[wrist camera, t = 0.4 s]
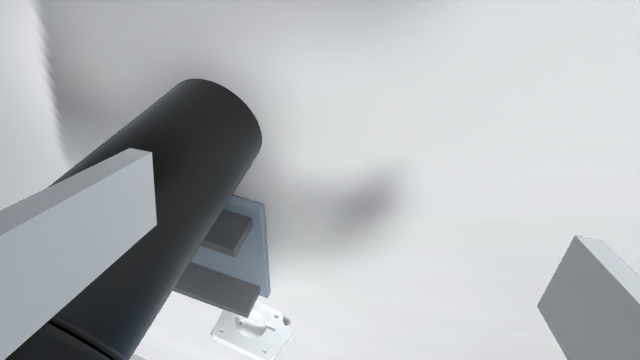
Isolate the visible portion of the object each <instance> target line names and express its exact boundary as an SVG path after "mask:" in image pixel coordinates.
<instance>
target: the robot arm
mask: <svg viewBox="0 0 640 360" xmlns="http://www.w3.org/2000/svg"><path fill="white" fill-rule="evenodd" d="M156 225H157V219H156V204H155V190H154V175H153V160H152V152H148V151H143V150H138V149H132V148H129V149H127V150H125V151H123V152H120V153H118V154H116V155H114V156H112V157H110V158H108V159H106V160H104V161H102V162H100V163H98V164H96V165H94V166H92V167H90V168H87V169H85V170H83V171H81V172H79V173H77V174H75V175H73V176H71V177H69V178H67V179H65V180H63V181H61V182H59V183H57V184H54V185H52V186H50V187H48V188H46V189H44V190H42V191H40V192H38V193H36V194H34V195H32V196H30V197H28V198H26V199H23V200H21V201H19V202H18V203H15V204H13V205H11V206H9V207H7V208H5V209H3V210H1V211H0V360H5V359H6V358H7V357H8V356H9V355H10V354H11V353H13V352H14V351H15V350H16V349H17V348H18V347H19V346H20V345H22V344H23V343H24V342H25V341H26V340H27V339H28V338H29V337H31V336H32V335H33V334H34V333H35V332H36V331H37V330H38V329H40V328H41V327H42V326H43V325H44V324H45V323H46V322H48V321H49V320H50V319H51V318H52V317H53V316H54V315H55V314H57V313H58V312H59V311H60V310H61V309H62V308H63V307H64V306H66V305H67V304H68V303H69V302H70V301H71V300H72V299H73V298H75V297H76V296H77V295H78V294H79V293H80V292H81V291H82V290H84V289H85V288H86V287H87V286H88V285H89V284H90V283H91V282H93V281H94V280H95V279H96V278H97V277H98V276H99V275H100V274H102V273H103V272H104V271H105V270H106V269H107V268H108V267H110V266H111V265H112V264H113V263H114V262H115V261H116V260H117V259H119V258H120V257H121V256H122V255H123V254H124V253H125V252H126V251H128V250H129V249H130V248H131V247H132V246H133V245H134V244H135V243H137V242H138V241H139V240H140V239H141V238H142V237H143V236H144V235H146V234H147V233H148V232H149V231H150V230H151V229H152V228H153V227H155V226H156ZM537 307H538V308H539V310H540V312H541V314H542V315H543V317H544V319H545V321H546V322H547V324H548V326H549V328H550V330H551V331H552V333H553V335H554V337H555V338H556V340H557V342H558V344H559V345H560V347H561V349H562V351H563V353H564V354H565V356H566V358H567V360H640V276H639V275H638V274H637V273H636V272H635V271H634V270H633V269H632V268H631V267H630V266H629V265H628V264H627V263H626V262H624V261H623V260H622V259H621V258H620V257H619V256H618V255H617V254H616V253H615V252H614V251H613V250H612V249H611V248H610V247H609V246H608V245H607V244H606V243H605V242H604V241H602V240H597V239H592V238H587V237H582V236H576V235H575V236H574V238H573V240H572V242H571V244H570V246H569V248H568V249H567V251H566V253H565V255H564V257H563V259H562V261H561V262H560V264H559V266H558V268H557V270H556V272H555V274H554V275H553V277H552V279H551V281H550V283H549V285H548V287H547V289H546V290H545V292H544V294H543V296H542V298H541V300H540V302H539V303H538V305H537Z"/></svg>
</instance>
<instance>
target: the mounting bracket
mask: <svg viewBox="0 0 640 360" xmlns="http://www.w3.org/2000/svg"><path fill="white" fill-rule="evenodd" d="M220 332H221V333H220ZM211 336H212V339H213V340H215V341H217V342H219V343H221V344H223V345H225V346H227V347H229V348H232V349H234V350H236V351H238V352H240V353H242V354H244V355H246V356H248V357H250V358H253V359H255V360H275V359H276V357H277V356H278V355H279V354H280V353H281V352H282V351H283V349H284V348H285V347H286V346H287V345H288V344H289V343H290V341H291V340H292V338H293V333H292V330H291V328H290V327H287V326H285V324H284V323H283V314H282V313H281V312H279V311H276V310H274V309H272V308H270V307H268V306H266V305H264V304H262V303H260V302H258V301H256V302H255V304H254V306H253V308H252V310H251V312H250V314H249V317H248V318H245V317H243V316H240V315H237V314H235V313H232V312H229V311H226V310H223V312H222V314H221V315H220V317H219V319H218V321H217V323H216V325H215V326H214V328H213V330H212V332H211ZM262 351H263V352H264V353H265V354H264V353H262Z"/></svg>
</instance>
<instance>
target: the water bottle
mask: <svg viewBox="0 0 640 360" xmlns="http://www.w3.org/2000/svg"><path fill="white" fill-rule="evenodd" d="M261 144H262V135H261V130H260V127H259V124H258V122H257V120H256V118H255V116H254V115H253V113H252V112H251V110H250V109H249V108H248V106H247V105H246V104H245V103H244V102H243V101H242V100H241V99H240V98H239V97H238V96H236V95H235V94H234V93H232V92H231V91H229V90H228V89H226V88H225V87H223V86H221V85H219V84H216V83H214V82H211V81H207V80H202V79H189V80H185V81H183V82H181V83H179V84H178V85H177V86H175V87H174V88H173V89H172V90H170V91H169V92H168V93H167V94H165V95H164V96H163V97H161V98H160V99H159V100H158V101H156V102H155V103H154V104H153V105H151V106H150V107H149V108H148V109H146V110H145V111H144V112H143V113H141V114H140V115H139V116H137V117H136V118H135V119H134V120H132V121H131V122H130V123H129V124H127V125H126V126H125V127H124V128H122V129H121V130H120V131H118V132H117V133H116V134H115V135H113V136H112V137H111V138H110V139H108V140H107V141H106V142H105V143H103V144H102V145H101V146H100V147H98V148H97V149H96V150H94V151H93V152H92V153H91V154H89V155H88V156H87V157H86V158H84V159H83V160H82V161H81V162H79V163H78V164H77V165H75V166H74V167H73V168H72V169H70V170H69V171H68V172H67V173H65V174H64V175H63V176H62V177H60V178H59V179H58V180H57V181H55V182H54V183H53V184H52V185H54V184H57V183H59V182H61V181H63V180H65V179H67V178H69V177H71V176H73V175H75V174H77V173H79V172H81V171H83V170H85V169H87V168H90V167H92V166H94V165H96V164H98V163H100V162H102V161H104V160H106V159H108V158H110V157H112V156H114V155H116V154H118V153H120V152H123V151H125V150H127V149H129V148H132V149H138V150H143V151H148V152H152V160H153V175H154V190H155V204H156V219H157V225H156V226H155V227H153V228H152V229H151V230H150V231H149V232H148V233H147V234H146V235H144V236H143V237H142V238H141V239H140V240H139V241H138V242H137V243H135V244H134V245H133V246H132V247H131V248H130V249H129V250H128V251H126V252H125V253H124V254H123V255H122V256H121V257H120V258H119V259H117V260H116V261H115V262H114V263H113V264H112V265H111V266H110V267H108V268H107V269H106V270H105V271H104V272H103V273H102V274H100V275H99V276H98V277H97V278H96V279H95V280H94V281H93V282H91V283H90V284H89V285H88V286H87V287H86V288H85V289H84V290H82V291H81V292H80V293H79V294H78V295H77V296H76V297H75V298H73V299H72V300H71V301H70V302H69V303H68V304H67V305H66V306H64V307H63V308H62V309H61V310H60V311H59V312H58V313H57V314H55V315H54V316H53V317H52V318H51V319H50V320H49V321H48V322H46V323H45V324H44V325H43V326H42V327H41V328H40V329H38V330H37V331H36V332H35V333H34V334H33V335H32V336H31V337H29V338H28V339H27V340H26V341H25V342H24V343H23V344H22V345H20V346H19V347H18V348H17V349H16V350H15V351H14V352H13V353H11V354H10V355H9V356H8V357H7V358H6V359H5V360H129V359H130V357H131V356H132V354H133V353H134V351H135V350H136V348H137V346H138V345H139V343H140V342H141V340H142V338H143V337H144V335H145V334H146V332H147V330H148V329H149V327H150V326H151V324H152V322H153V321H154V319H155V318H156V316H157V314H158V313H159V311H160V310H161V308H162V306H163V305H164V303H165V301H166V300H167V298H168V297H169V295H170V293H171V292H172V290H173V289H174V287H175V285H176V284H177V282H178V281H179V279H180V277H181V276H182V274H183V273H184V271H185V269H186V268H187V266H188V265H189V263H190V261H191V260H192V258H193V257H194V255H195V253H196V252H197V250H198V249H199V247H200V245H201V244H202V242H203V241H204V239H205V237H206V236H207V234H208V233H209V231H210V229H211V228H212V226H213V225H214V223H215V221H216V220H217V218H218V217H219V215H220V213H221V212H222V210H223V209H224V207H225V205H226V204H227V202H228V201H229V199H230V197H231V196H232V194H233V192H234V191H235V189H236V188H237V186H238V184H239V183H240V181H241V180H242V178H243V176H244V175H245V173H246V172H247V170H248V168H249V167H250V165H251V164H252V162H253V160H254V159H255V157H256V156H257V154H258V152H259V151H260V148H261ZM52 185H50V186H52ZM50 186H49V187H50Z"/></svg>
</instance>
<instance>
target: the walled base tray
mask: <svg viewBox="0 0 640 360" xmlns="http://www.w3.org/2000/svg"><path fill="white" fill-rule="evenodd" d="M172 291H175V292H178V293H181V294H183V295H186V296H189V297H191V298H194V299H197V300H199V301H202V302H205V303H208V304H210V305H213V306H216V307H218V308H221V309H224V310H226V311H229V312H232V313H235V314H237V315H240V316H243V317H245V318H248V317H249V314H250V312H251V310H252V308H253V306H254V304H255V302H256V300H257V298H258V295H260V296H263V297H266V298H268V296H269V294H270V279H269V265H268V251H267V237H266V223H265V209H264V205H263V204H260V203H257V202H254V201H250V200H247V199H244V198H241V197H237V196H234V195H232V196H231V197H230V199H229V201H228V202H227V204H226V205H225V207H224V209H223V210H222V212H221V213H220V215H219V217H218V218H217V220H216V221H215V223H214V225H213V226H212V228H211V229H210V231H209V233H208V234H207V236H206V237H205V239H204V241H203V242H202V244H201V245H200V247H199V249H198V250H197V252H196V253H195V255H194V257H193V258H192V260H191V261H190V263H189V265H188V266H187V268H186V269H185V271H184V273H183V274H182V276H181V277H180V279H179V281H178V282H177V284H176V285H175V287H174V289H173V290H172Z"/></svg>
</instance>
